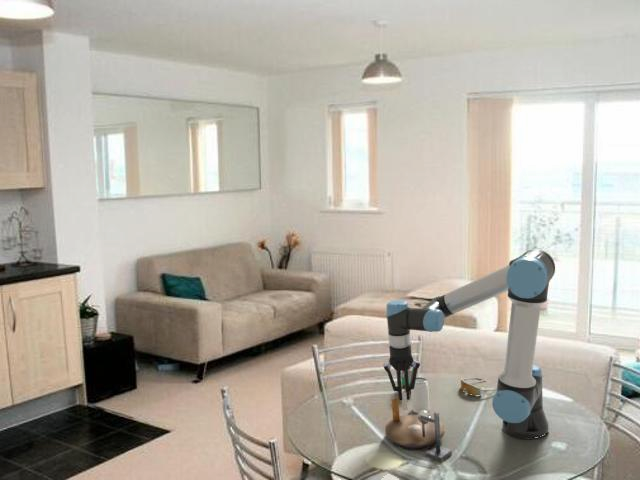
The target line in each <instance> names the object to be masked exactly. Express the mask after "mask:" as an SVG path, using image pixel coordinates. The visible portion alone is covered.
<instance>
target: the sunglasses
mask: <svg viewBox="0 0 640 480" xmlns="http://www.w3.org/2000/svg"><path fill="white" fill-rule="evenodd" d="M468 380H471V381H477V380H478V381H481V380H484V379H482V378H479V377H467V378H460V386H461V391H462V390H463V391H465V393H466V394H467V393H468V394H472V395H480V396H481V397H482V392H483V393H487V392H496V391H497V388H494V389H487V388H484V389H483V388H481V387H477V386H475V385H473V384H472V383H469V382H467V381H468ZM463 391H462V392H463ZM468 394H467V395H468Z"/></svg>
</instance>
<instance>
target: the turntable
mask: <svg viewBox="0 0 640 480" xmlns="http://www.w3.org/2000/svg"><path fill="white" fill-rule="evenodd" d="M399 401H400V400H399V397H391V411H392V419H391V420H389V421H388V422H387V423H386V425H385V427H384V428H385V430H384V431H385V436H386V437H387V439H389V440H390V441H391V442H392V441H393V442H395V443H398V444H401V445H407V446H422V445H428V444H431V443H434V442H435V424H434V423H433V422H429V423H427V424H424V426H425V437H423V434H422V423H421V422H420V421H419V419H418V414H405V415H401V416H400V404H399V403H400V402H399ZM439 423H440V440H441V439H442V438H443V437H444V435H445V427H444V424H443V423H442V421H441V420H439ZM393 442H392V443H393Z"/></svg>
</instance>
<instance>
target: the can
mask: <svg viewBox="0 0 640 480" xmlns="http://www.w3.org/2000/svg"><path fill="white" fill-rule="evenodd" d="M429 394H430V393H429V383H428V379H426V378H425V377H416V381H415V387H414V389H411V394H410V395H411V396H410V398H411V410H412V412H413V413H414V414H416V415H418V413H419V412H420V411H421V410H425V411H427V412H428V413H429V411H430V396H429Z"/></svg>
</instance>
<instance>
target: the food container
mask: <svg viewBox="0 0 640 480" xmlns="http://www.w3.org/2000/svg"><path fill="white" fill-rule="evenodd" d="M412 364H413V363H412ZM412 364H411V366H410V367H409V369H408V379H409V385H410V381H411V375H412V370H413V365H412ZM417 374H418V370H417ZM401 384H402V390H403V389H405V382H404V371H403V370H402V371H401ZM409 394H410V395H411V390H410V392H409Z"/></svg>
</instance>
